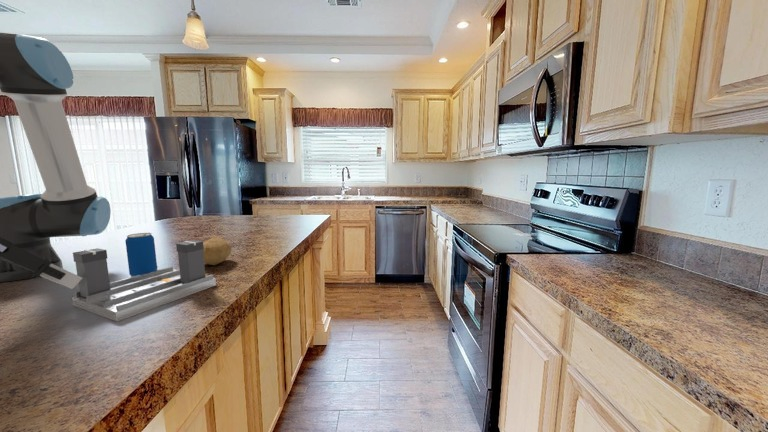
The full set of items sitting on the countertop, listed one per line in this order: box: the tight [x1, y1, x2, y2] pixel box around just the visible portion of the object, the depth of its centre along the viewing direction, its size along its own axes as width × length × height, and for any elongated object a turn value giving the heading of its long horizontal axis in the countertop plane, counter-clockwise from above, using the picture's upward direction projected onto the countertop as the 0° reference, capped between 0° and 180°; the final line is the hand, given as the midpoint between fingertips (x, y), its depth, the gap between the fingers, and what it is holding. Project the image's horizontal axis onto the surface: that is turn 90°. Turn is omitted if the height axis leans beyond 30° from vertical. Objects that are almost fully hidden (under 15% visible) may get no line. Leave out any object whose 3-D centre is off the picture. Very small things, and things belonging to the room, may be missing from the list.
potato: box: [203, 237, 232, 266], centre depth 100 cm, size 10×14×8 cm
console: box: [71, 266, 217, 322], centre depth 75 cm, size 18×22×3 cm
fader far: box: [175, 239, 206, 283], centre depth 78 cm, size 4×4×10 cm
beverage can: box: [124, 232, 158, 277], centre depth 89 cm, size 6×6×12 cm
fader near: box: [72, 247, 111, 297], centre depth 70 cm, size 4×4×10 cm
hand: (75, 282), depth 67 cm, fingers closed
